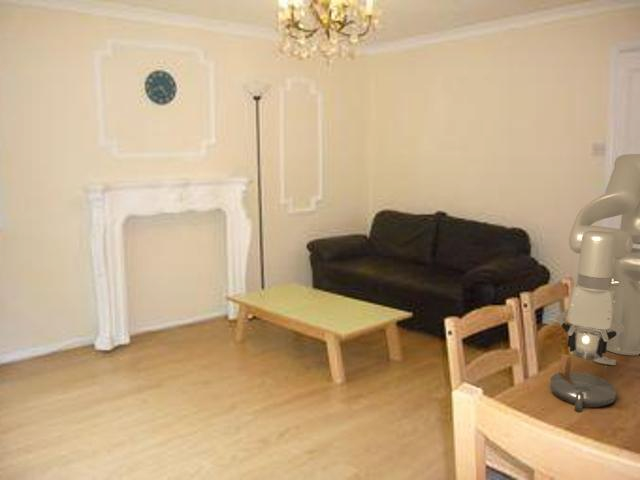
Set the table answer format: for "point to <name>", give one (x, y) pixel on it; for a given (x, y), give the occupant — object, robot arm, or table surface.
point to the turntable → (581, 385)
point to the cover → (587, 343)
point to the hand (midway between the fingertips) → (586, 351)
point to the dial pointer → (579, 401)
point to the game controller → (605, 361)
